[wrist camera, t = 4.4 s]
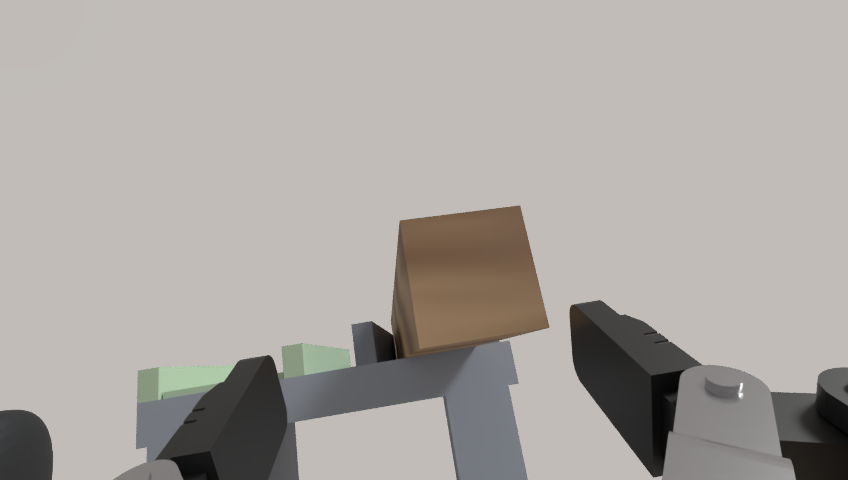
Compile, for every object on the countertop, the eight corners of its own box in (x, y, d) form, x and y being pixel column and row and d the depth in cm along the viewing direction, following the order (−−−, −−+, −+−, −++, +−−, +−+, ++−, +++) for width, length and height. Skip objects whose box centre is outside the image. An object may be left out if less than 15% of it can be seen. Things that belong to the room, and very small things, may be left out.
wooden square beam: (549, 327, 11) (520, 205, 12) (419, 349, 11) (399, 220, 12) (437, 355, 36) (430, 314, 37) (396, 362, 36) (390, 321, 37)
